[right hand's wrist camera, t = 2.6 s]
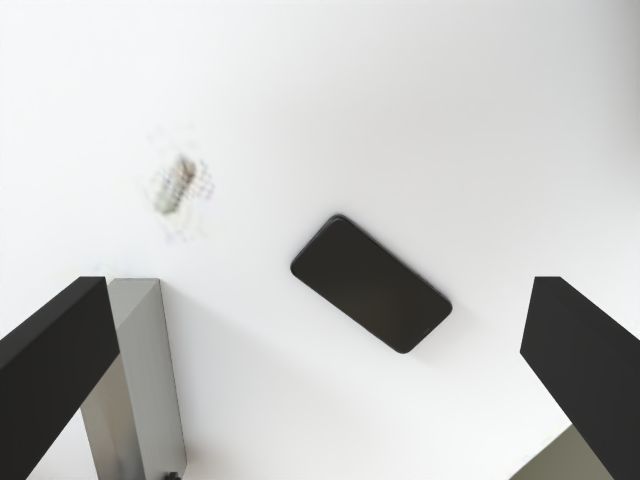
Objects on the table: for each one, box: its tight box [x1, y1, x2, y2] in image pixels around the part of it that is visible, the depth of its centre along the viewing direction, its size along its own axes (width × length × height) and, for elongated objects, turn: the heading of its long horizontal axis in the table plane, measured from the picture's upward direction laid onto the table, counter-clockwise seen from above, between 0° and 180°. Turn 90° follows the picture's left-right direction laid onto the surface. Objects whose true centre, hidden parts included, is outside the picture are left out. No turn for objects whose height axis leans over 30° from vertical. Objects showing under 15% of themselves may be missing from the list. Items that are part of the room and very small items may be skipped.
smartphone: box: [290, 215, 452, 354], centre depth 42 cm, size 8×1×16 cm
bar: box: [80, 279, 187, 480], centre depth 42 cm, size 25×4×9 cm, turn 0°
